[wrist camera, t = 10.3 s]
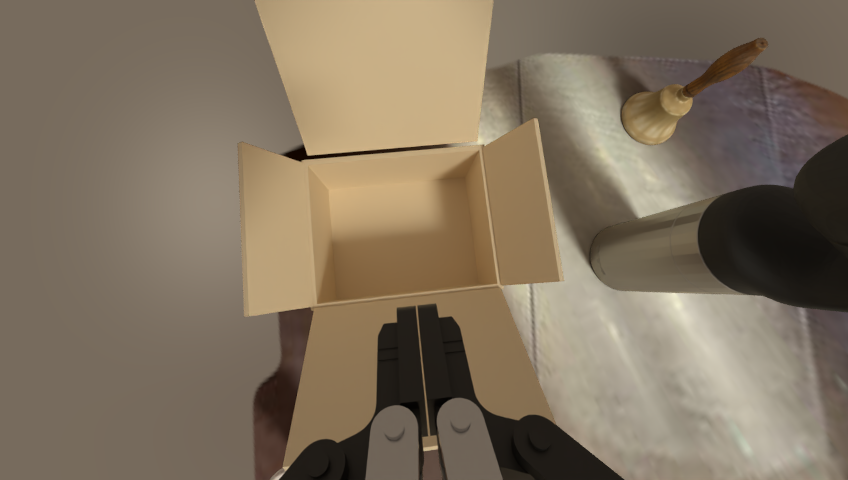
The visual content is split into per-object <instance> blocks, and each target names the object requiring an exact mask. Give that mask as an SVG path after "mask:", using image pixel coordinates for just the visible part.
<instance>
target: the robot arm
mask: <svg viewBox="0 0 848 480" xmlns="http://www.w3.org/2000/svg"><path fill="white" fill-rule="evenodd" d="M590 259H591V264H592V268H593V270H594V272H595V274H596V275H597V276H598V278H599V279H600V280H601V281H602V282H603V283H604V284H605V285H607V286H609V287H611V288H613V289H616V290H620V291H639V292H665V293H696V294H732V295H758V296H765V297H767V298H770V299H772V300H775V301H777V302H780V303H783V304H787V305H791V306H796V307H802V308H810V309H820V310H830V311H839V312H848V135H846V136H844V137H842V138H840V139H838V140H837V141H835V142H833V143H832V144H830V145H828V146H827V147H825V148H824V149H822V150H821V151H819V152H818V153H817V154H815V155H814V156H813V157H812V158H811V159H809V160H808V161H807V162H806V164H805V165H804V166H803V167H802V168H801V170H800V172H799V173H798V175H797V176H796V179H795V183H794V187H793V189H792V188H789V187H784V186H779V185H757V186H752V187H747V188H743V189H740V190H736V191H733V192H729V193H726V194H722V195H719V196H715V197H712V198H708V199H705V200H701V201H698V202H695V203H691V204H688V205H684V206H681V207H677V208H674V209H670V210H667V211H663V212H660V213H656V214H653V215H649V216H646V217H642V218H639V219H635V220H631V221H628V222H624V223H621V224H617V225H614V226H611V227H608V228H606V229H604V230H603V231H601V232H600V233H599V234H598V235H597V236H596V238H595V239H594V241H593V244H592V246H591V252H590ZM417 308H418V319H419V330H420V341H421V351H422V361H423V370H424V380H425V390H426V399H427V409H428V419H429V428H430V436H434V435H436V436H437V445H438V453H439V465H440V470H441V476H442V480H624V479H623V478H622V477H620V476H619V475H618V474H617V473H615V472H614V471H613V470H612V469H610V468H609V467H608V466H607V465H605V464H604V463H603V462H602V461H600V460H599V459H598V458H597V457H595V456H594V455H593V454H592V453H590V452H589V451H588V450H587V449H585V448H584V447H583V446H582V445H580V444H579V443H578V442H577V441H575V440H574V439H573V438H572V437H570V436H569V435H568V434H567V433H565V432H564V431H563V430H562V429H560V428H559V427H558V426H557V425H555V424H554V423H553V422H552V421H550V420H549V419H547V418H545V417H543V416H540V415H527V416H524V417H522V418H521V419H520V420H515V419H510V418H506V417H502V416H498V415H495V414H493V413H491V412H489V411H488V410H486V409H485V408H484V407H483V406H482V405H481V404H480V402H479V401H478V399H477V397H476V395H475V391H474V387H473V383H472V378H471V374H470V369H469V365H468V360H467V356H466V353H465V347H464V343H463V338H462V334H461V330H460V326H459V325H458V324H457V322H456V321H455V320H454V319H453V317H452V316H450V317H440V318H439V316H438V310H437V305H436V303H435V304H425V305H417ZM377 350H378V352H377V393H376V409H375V413H374V415H373V417H372V419H371V421H370V422H369V424H368V425H367V426H366V427H365V428H364V429H363V430H361V431H360V432H358V433H356V434H355V435H353V436H351V437H349V438H346V439H344V440H342V441H340V442H338V443H337V442H336V441H334V440H331V439H321V440H317V441H315V442H313V443H311V444H310V445H308V446H307V447H306V448H305V449H304V450H303V451H302V452H301V453H300V455H299V456H298V457H297V458H296V460H295V461H294V462H293V463H292V464H291V466H290V467H289V468H288V469H287V470H286V472H285V473H284V474H283V475H282V476H281V478H280V479H279V480H423V465H424V451H423V439H422V437H427V436H428V428H427V417H426V406H425V395H424V385H423V375H422V365H421V355H420V345H419V335H418V325H417V315H416V306H407V307H397V322H395V323H385V324H383V326H382V328H381V330H380V332H379V334H378V346H377Z"/></svg>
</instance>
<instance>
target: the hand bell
mask: <svg viewBox="0 0 848 480" xmlns="http://www.w3.org/2000/svg"><path fill="white" fill-rule="evenodd" d="M767 46H768V42H767V41H766V39H764V38H758V39H756V40H754V41H752V42H749V43H746V44H743V45H740V46H738V47H736V48H734V49H732V50H730V51H728V52H727V53H726V54H724V55H723V56H721V57H720V58H719V59H717V60H716V61H715V62H714V63H713V64H712V65H711V66H710V67H709V68H708V70H707V71H706V72H705V73H704V74H703V75H702V76H701V77H699V78H697V79H696V80H694V81H693V82H691V83H690V84H688V85H686V86H685V87H683V86H681V85H677V84H673V85H669V86H667V87H665V88H663V89H661V90H659V91H658V92H640V93H637V94H635V95H633V96H631V97H630V98H629V99H628V100H627V101H626V103H625V104H624V106H623V109H622V122H623V126H624V128H625V130H626V131H627V133H628V134H629V135H630V136H631V137H632V138H633V139H635V140H636V141H638V142H640V143H643V144H646V145H656V144H660V143H663V142H665V141H666V140H667V139H669V138H670V137H671V135H672V134H673V132H674V130H675V128H676V124H677V121H678V120H679V119H680V118H681V117H682V116H683V115H685V114H686V113H687V112H688V111H689V110H690V108H691V106H692V97H694V96H695V95H697V94H698V93H699V92H701V91H702V90H704V89H705V88H707V87H708V86H710V85H712V84H714V83H718V82H721V81H724V80H726V79H728V78H730V77H732V76H734V75H736V74H738V73H739V72H741V71H742V70H744V69H745V68H746V67H748V66H749V65H750V64H751V63H752V62H753V61H754V60H755V59H756V57H757V56H758V55H759V54H760V53H761V52H762V51H763V50H764V49H765V48H766V47H767Z"/></svg>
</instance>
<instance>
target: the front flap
mask: <svg viewBox="0 0 848 480" xmlns="http://www.w3.org/2000/svg"><path fill="white" fill-rule="evenodd" d="M254 1H255V3H256V6H257V9H258V12H259V15H260V18H261V21H262V24H263V27H264V29H265V33H266V35H267V38H268V41H269V44H270V47H271V50H272V53H273V56H274V59H275V62H276V64H277V67H278V70H279V73H280V76H281V79H282V82H283V85H284V88H285V91H286V94H287V97H288V99H289V102H290V105H291V108H292V111H293V114H294V117H295V120H296V123H297V126H298V128H299V131H300V134H301V137H302V140H303V143H304V146H305V149H306V152H307V155H320V154H332V153H343V152H355V151H367V150H379V149H390V148H402V147H414V146H426V145H437V144H449V143H461V142H473V141H477V138H478V130H479V121H480V113H481V104H482V96H483V87H484V79H485V70H486V61H487V53H488V43H489V36H490V27H491V19H492V10H493V1H494V0H254Z"/></svg>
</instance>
